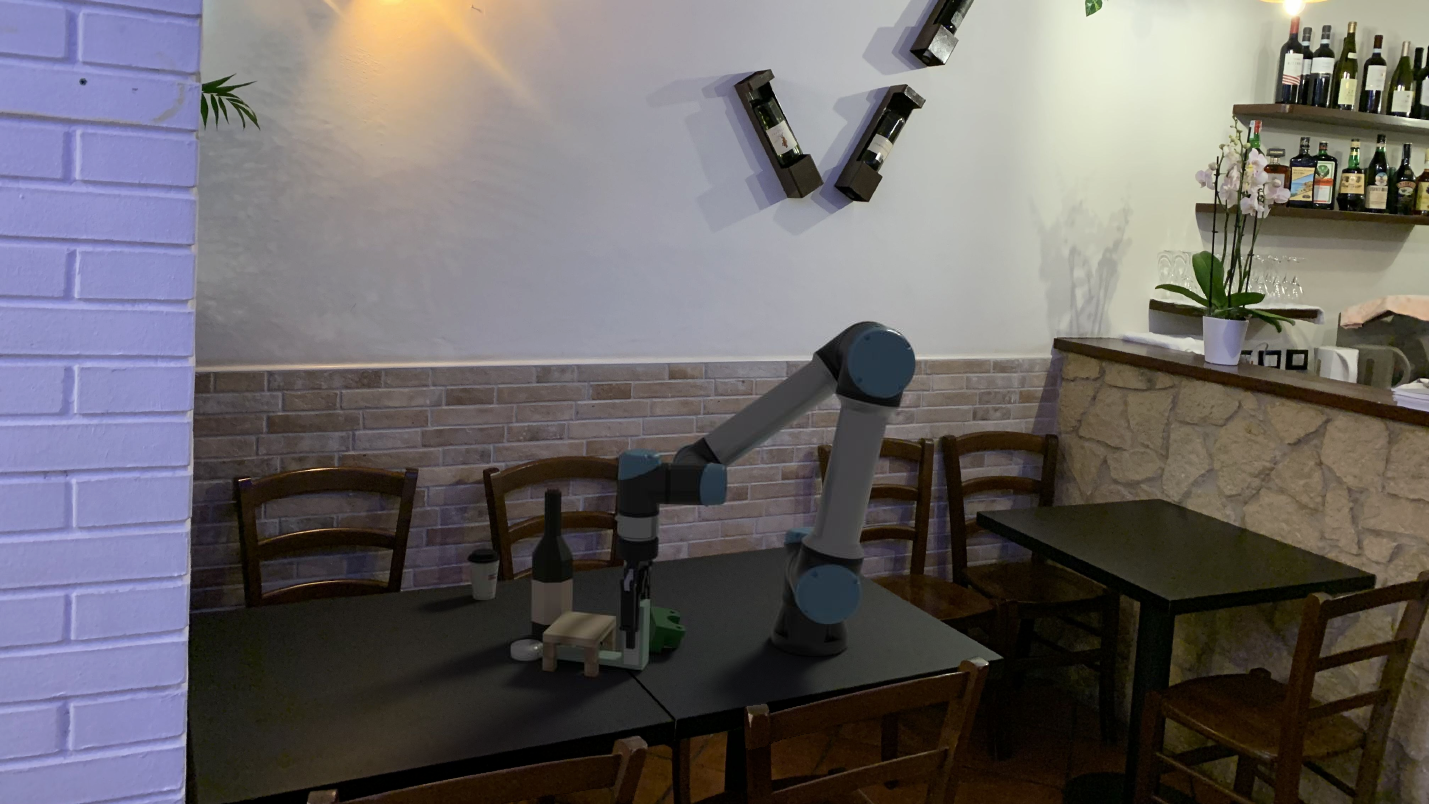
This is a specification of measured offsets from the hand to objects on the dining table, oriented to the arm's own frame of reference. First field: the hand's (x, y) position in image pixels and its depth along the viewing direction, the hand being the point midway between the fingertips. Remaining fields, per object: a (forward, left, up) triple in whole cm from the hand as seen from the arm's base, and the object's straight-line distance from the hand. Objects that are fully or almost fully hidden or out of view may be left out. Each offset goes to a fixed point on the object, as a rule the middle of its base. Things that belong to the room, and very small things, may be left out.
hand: (635, 658), depth 196 cm
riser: (+11, 0, -2) cm, 11 cm away
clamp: (-2, -13, -2) cm, 13 cm away
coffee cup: (+42, -27, -2) cm, 49 cm away
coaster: (+21, 0, -2) cm, 21 cm away
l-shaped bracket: (+8, 0, -1) cm, 8 cm away
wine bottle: (+20, -9, -2) cm, 22 cm away
